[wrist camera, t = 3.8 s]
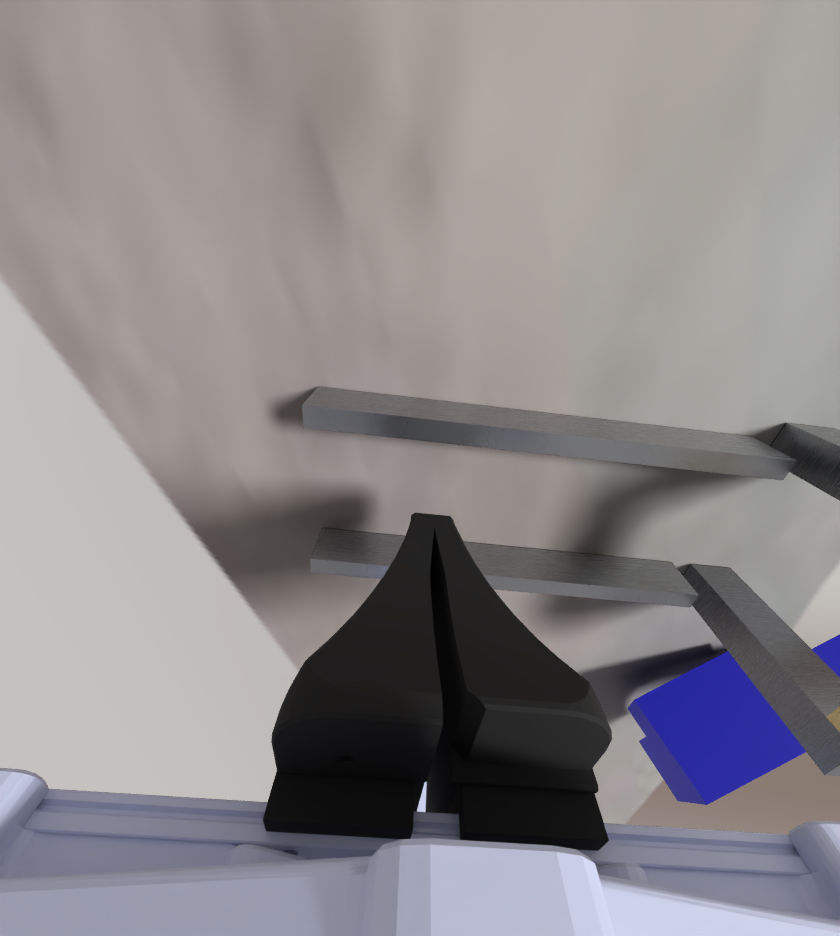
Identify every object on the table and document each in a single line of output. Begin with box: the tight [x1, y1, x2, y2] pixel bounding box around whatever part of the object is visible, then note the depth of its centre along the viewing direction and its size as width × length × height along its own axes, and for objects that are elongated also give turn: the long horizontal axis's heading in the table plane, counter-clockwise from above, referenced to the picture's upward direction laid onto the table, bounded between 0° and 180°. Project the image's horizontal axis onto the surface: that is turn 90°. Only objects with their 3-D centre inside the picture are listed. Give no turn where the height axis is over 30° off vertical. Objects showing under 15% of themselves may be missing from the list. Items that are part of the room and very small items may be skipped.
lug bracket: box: [683, 423, 840, 776], centre depth 13 cm, size 9×2×8 cm, turn 173°
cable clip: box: [628, 635, 840, 805], centre depth 21 cm, size 12×4×6 cm
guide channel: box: [302, 387, 797, 607], centre depth 15 cm, size 8×17×2 cm, turn 83°
